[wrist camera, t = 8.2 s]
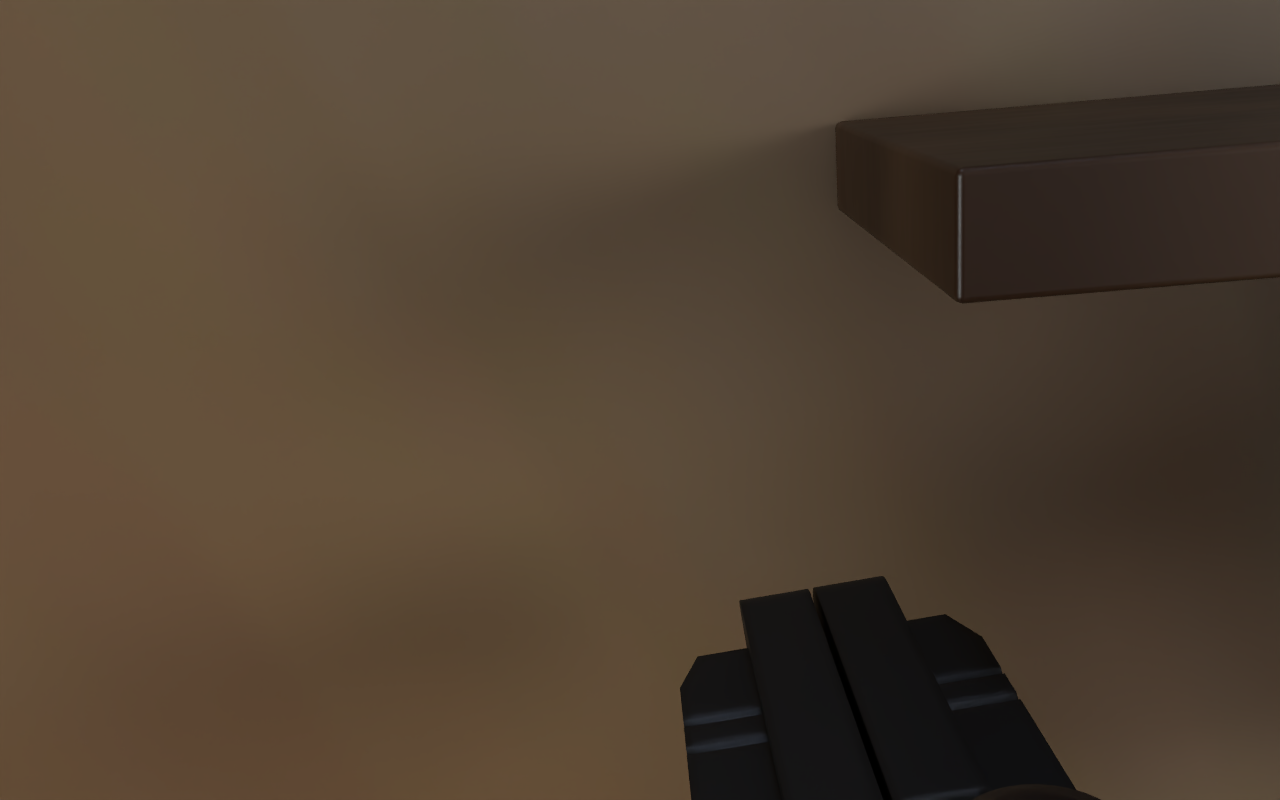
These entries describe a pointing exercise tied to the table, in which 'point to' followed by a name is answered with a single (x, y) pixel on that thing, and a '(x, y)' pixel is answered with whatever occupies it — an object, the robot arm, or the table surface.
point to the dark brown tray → (1073, 193)
